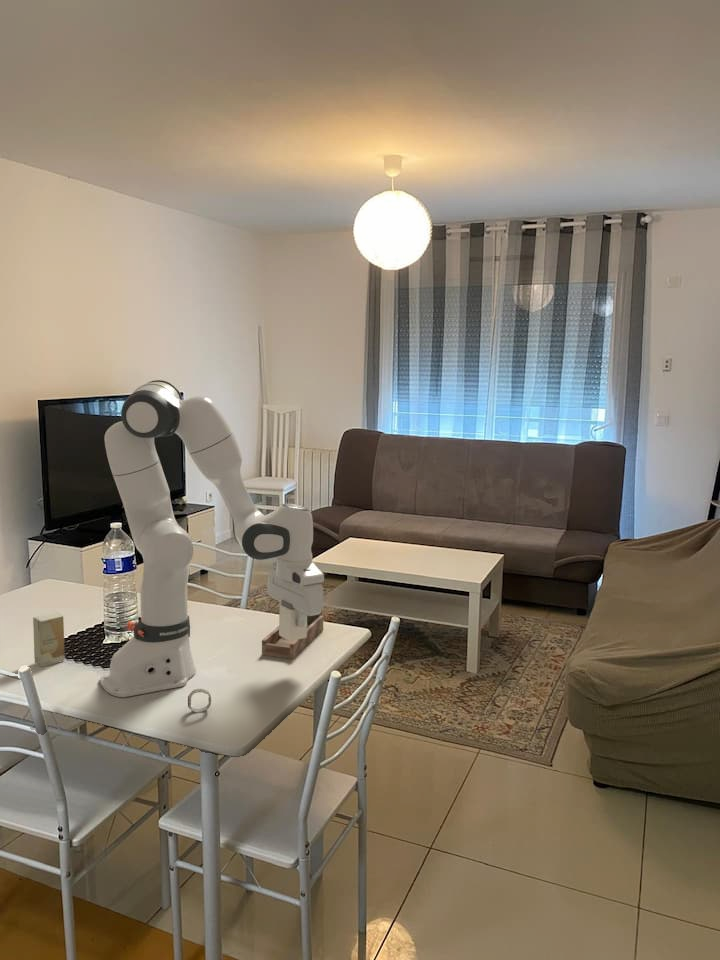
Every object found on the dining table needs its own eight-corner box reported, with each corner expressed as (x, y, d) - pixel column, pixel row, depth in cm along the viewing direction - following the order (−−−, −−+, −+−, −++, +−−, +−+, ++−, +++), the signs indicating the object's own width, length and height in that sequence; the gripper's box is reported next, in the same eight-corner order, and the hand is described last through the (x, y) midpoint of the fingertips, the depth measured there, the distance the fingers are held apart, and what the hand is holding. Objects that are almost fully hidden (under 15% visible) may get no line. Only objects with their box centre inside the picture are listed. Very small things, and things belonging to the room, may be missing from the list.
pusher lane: (293, 659, 188) (293, 637, 187) (261, 654, 190) (261, 633, 189) (323, 629, 209) (323, 609, 209) (294, 625, 212) (294, 605, 211)
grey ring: (187, 709, 160) (187, 688, 159) (210, 706, 161) (210, 685, 160) (188, 715, 157) (188, 694, 156) (211, 712, 158) (211, 691, 158)
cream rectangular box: (289, 641, 176) (290, 605, 175) (278, 635, 180) (279, 600, 179) (306, 637, 180) (307, 602, 178) (295, 631, 183) (296, 596, 182)
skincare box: (41, 668, 180) (38, 621, 178) (34, 663, 183) (31, 617, 181) (66, 660, 185) (64, 615, 183) (58, 656, 188) (56, 611, 186)
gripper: (261, 561, 183) (260, 612, 185) (306, 580, 168) (305, 637, 170) (282, 557, 187) (281, 608, 189) (328, 576, 172) (326, 632, 174)
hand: (292, 622), depth 179 cm, fingers closed on cream rectangular box, 5 cm apart
